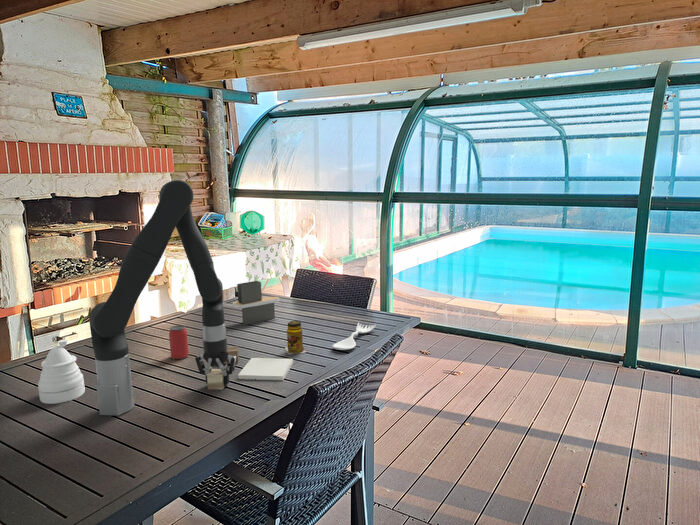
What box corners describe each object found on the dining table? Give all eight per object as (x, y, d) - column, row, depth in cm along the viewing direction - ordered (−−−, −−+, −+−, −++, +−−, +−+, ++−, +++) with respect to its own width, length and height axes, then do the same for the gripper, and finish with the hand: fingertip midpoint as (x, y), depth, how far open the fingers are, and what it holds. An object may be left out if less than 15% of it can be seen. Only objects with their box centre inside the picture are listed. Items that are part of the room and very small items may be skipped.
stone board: (283, 380, 170) (282, 376, 169) (238, 379, 171) (237, 374, 171) (293, 362, 185) (293, 358, 185) (251, 361, 187) (251, 357, 187)
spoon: (376, 330, 222) (376, 323, 221) (349, 355, 193) (349, 346, 192) (358, 328, 225) (358, 321, 224) (328, 352, 196) (328, 344, 195)
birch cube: (222, 389, 163) (221, 375, 162) (207, 389, 164) (206, 375, 163) (227, 383, 168) (226, 369, 167) (213, 382, 169) (212, 369, 168)
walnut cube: (237, 363, 186) (237, 350, 185) (224, 364, 185) (223, 351, 184) (238, 358, 191) (238, 346, 190) (225, 359, 190) (224, 347, 189)
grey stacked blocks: (278, 308, 260) (276, 272, 256) (304, 319, 241) (303, 280, 237) (209, 323, 236) (206, 283, 233) (232, 336, 217) (229, 293, 213)
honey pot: (75, 383, 170) (69, 333, 167) (91, 393, 162) (85, 341, 159) (33, 396, 161) (26, 343, 157) (49, 407, 153) (41, 352, 149)
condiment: (288, 355, 193) (287, 325, 191) (284, 347, 201) (283, 319, 199) (306, 352, 195) (305, 323, 193) (302, 345, 203) (301, 317, 201)
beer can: (183, 360, 189) (180, 330, 187) (167, 359, 191) (165, 329, 188) (191, 354, 196) (189, 325, 194) (176, 353, 197) (174, 324, 195)
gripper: (189, 340, 160) (192, 389, 163) (231, 341, 159) (234, 390, 162) (198, 332, 167) (201, 379, 170) (239, 333, 166) (242, 380, 169)
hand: (217, 384), depth 166 cm, fingers closed on birch cube, 5 cm apart
